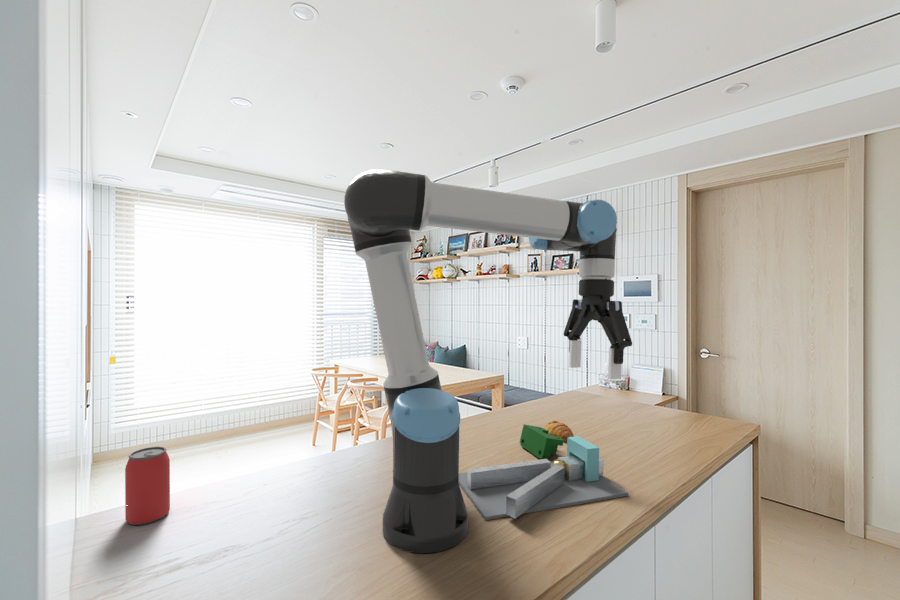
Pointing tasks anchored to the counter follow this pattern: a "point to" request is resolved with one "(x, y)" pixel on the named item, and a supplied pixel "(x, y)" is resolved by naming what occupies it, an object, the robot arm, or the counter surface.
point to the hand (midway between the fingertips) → (593, 372)
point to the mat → (568, 494)
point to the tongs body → (526, 471)
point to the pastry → (559, 430)
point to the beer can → (147, 485)
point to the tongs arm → (534, 491)
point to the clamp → (539, 441)
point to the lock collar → (585, 456)
